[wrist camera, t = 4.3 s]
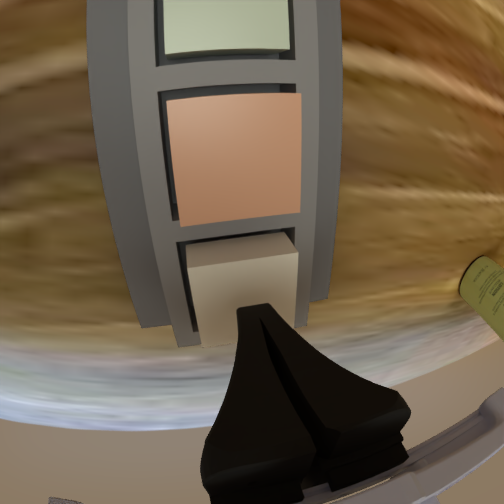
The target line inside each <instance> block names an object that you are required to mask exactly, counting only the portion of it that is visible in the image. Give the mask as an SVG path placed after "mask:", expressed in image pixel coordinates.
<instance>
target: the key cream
mask: <svg viewBox="0 0 504 504" xmlns="http://www.w3.org/2000/svg"><path fill="white" fill-rule="evenodd" d="M298 253H299V252H298V251H297V249H296V248H295V247H294V245H293V244H292V242H291V241H290V239H289V238H288V237H287V235H286V234H285V232H279V233H271V234H263V235H255V236H248V237H240V238H232V239H225V240H217V241H210V242H203V243H195V244H188V245H186V258H187V270H188V276H189V282H190V287H191V293H192V298H193V304H194V309H195V314H196V319H197V324H198V329H199V334H200V339H201V344H202V348H204V347H211V346H217V345H224V344H230V343H236V342H238V326H237V315H236V310H237V309H238V308H239V307H245V306H251V305H257V304H263V303H269V304H271V305H272V307H273V308H274V309H275V310H276V311H277V313H278V314H279V315H280V316H281V317H282V318H283V319H284V320H285V321H286V322H287V323H288V324H289V325H290V326H291V327H292V328H293V329H294V321H295V306H296V291H297V273H298Z"/></svg>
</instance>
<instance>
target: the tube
mask: <svg viewBox="0 0 504 504" xmlns="http://www.w3.org/2000/svg"><path fill="white" fill-rule="evenodd" d="M460 295H461V297H462V298H463V299H464V300H465V301H466V302H467V303H468V304H469V305H470V306H471V307H472V308H473V309H474V310H475V311H476V312H477V313H478V314H479V315H480V316H481V317H482V318H483V319H484V320H485V321H486V322H487V324H488V325H489V326H490V327H491V328H492V329H493V330H494V331H495V332H496V333H497V335H498V336H499V337H500V338H501V339H502V340H503V341H504V268H502V267H501V266H500V265H498V264H497V263H495V262H494V261H493V260H491V259H490V258H488V257H486V256H482V257H480V258H478V259H477V260H476V261H475V262H474V263H473V264H472V265H471V266H470V267H469V269H468V270H467V272H466V273H465V275H464V277H463V280H462V282H461V285H460Z"/></svg>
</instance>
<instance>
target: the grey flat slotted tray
mask: <svg viewBox="0 0 504 504" xmlns="http://www.w3.org/2000/svg"><path fill="white" fill-rule="evenodd" d="M288 18H289V42H290V49H289V50H286V51H283V52H280V53H278V54H275V55H274V54H240V55H216V56H201V57H190V58H180V59H172V60H167V58H166V55H165V42H164V3H163V0H87V59H88V76H89V89H90V100H91V110H92V118H93V127H94V134H95V141H96V148H97V154H98V160H99V166H100V172H101V177H102V183H103V188H104V193H105V198H106V203H107V207H108V212H109V216H110V221H111V225H112V229H113V233H114V237H115V241H116V245H117V249H118V253H119V257H120V260H121V264H122V268H123V271H124V275H125V278H126V281H127V285H128V288H129V291H130V295H131V298H132V301H133V304H134V307H135V310H136V313H137V316H138V319H139V322H140V325H141V328H148V327H157V326H165V325H172V327H173V330H174V334H175V338H176V341H177V345H178V347H185V346H193V345H200V344H201V339H200V334H199V329H198V324H197V319H196V314H195V309H194V304H193V298H192V293H191V287H190V282H189V276H188V270H187V258H186V245H188V244H195V243H203V242H210V241H217V240H225V239H232V238H240V237H248V236H255V235H263V234H271V233H279V232H285V234H286V235H287V237H288V238H289V239H290V241H291V242H292V244H293V245H294V247H295V248H296V249H297V251H298V252H299V253H298V273H297V291H296V306H295V321H294V328H297V327H302V326H307V319H308V309H309V302H313V301H318V300H323V299H328V292H329V285H330V277H331V269H332V260H333V251H334V242H335V231H336V221H337V209H338V196H339V182H340V165H341V144H342V108H343V65H342V31H341V12H340V0H288ZM241 93H301V113H302V139H301V199H300V213H290V214H281V215H272V216H264V217H255V218H247V219H239V220H230V221H223V222H215V223H207V224H199V225H192V226H185V227H181V226H180V219H179V212H178V205H177V197H176V189H175V181H174V173H173V164H172V156H171V146H170V136H169V126H168V114H167V102H166V101H167V100H172V99H180V98H189V97H199V96H210V95H223V94H241Z"/></svg>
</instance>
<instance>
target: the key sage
mask: <svg viewBox="0 0 504 504" xmlns="http://www.w3.org/2000/svg"><path fill="white" fill-rule="evenodd" d="M163 3H164V42H165V55H166V58H167V60H172V59H180V58H190V57H201V56H216V55H240V54H274V55H275V54H278V53H280V52H283V51H286V50H289V49H290V42H289V18H288V0H163Z"/></svg>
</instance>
